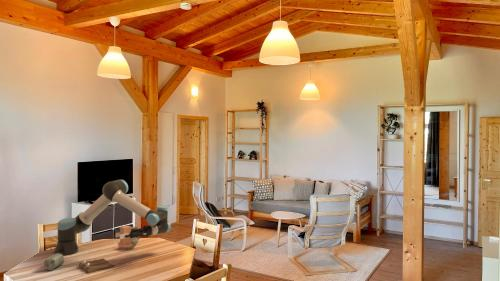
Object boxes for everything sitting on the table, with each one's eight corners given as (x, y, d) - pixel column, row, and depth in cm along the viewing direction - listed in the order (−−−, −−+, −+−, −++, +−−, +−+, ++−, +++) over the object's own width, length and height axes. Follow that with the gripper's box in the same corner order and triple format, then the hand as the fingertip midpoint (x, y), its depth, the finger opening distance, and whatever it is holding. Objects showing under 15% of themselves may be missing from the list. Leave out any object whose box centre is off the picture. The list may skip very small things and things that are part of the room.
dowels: (81, 265, 229) (81, 260, 229) (85, 264, 230) (85, 260, 230) (86, 269, 223) (86, 264, 223) (90, 268, 225) (90, 263, 225)
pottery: (142, 240, 290) (142, 226, 290) (136, 250, 265) (136, 234, 265) (127, 241, 288) (128, 226, 288) (120, 251, 263) (121, 234, 263)
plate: (78, 266, 231) (78, 264, 231) (103, 260, 243) (103, 258, 243) (88, 273, 220) (88, 271, 220) (113, 267, 231) (113, 264, 231)
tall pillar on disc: (115, 245, 240) (116, 226, 240) (128, 242, 246) (128, 224, 246) (122, 248, 233) (122, 229, 233) (134, 245, 240) (135, 226, 240)
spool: (55, 267, 220) (51, 251, 223) (41, 273, 221) (38, 257, 224) (70, 265, 233) (66, 250, 236) (57, 271, 234) (53, 256, 237)
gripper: (156, 238, 246) (124, 245, 230) (143, 232, 259) (111, 238, 242) (156, 227, 246) (124, 233, 229) (143, 222, 259) (111, 227, 242)
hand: (117, 236), depth 236 cm, fingers closed on tall pillar on disc, 5 cm apart
